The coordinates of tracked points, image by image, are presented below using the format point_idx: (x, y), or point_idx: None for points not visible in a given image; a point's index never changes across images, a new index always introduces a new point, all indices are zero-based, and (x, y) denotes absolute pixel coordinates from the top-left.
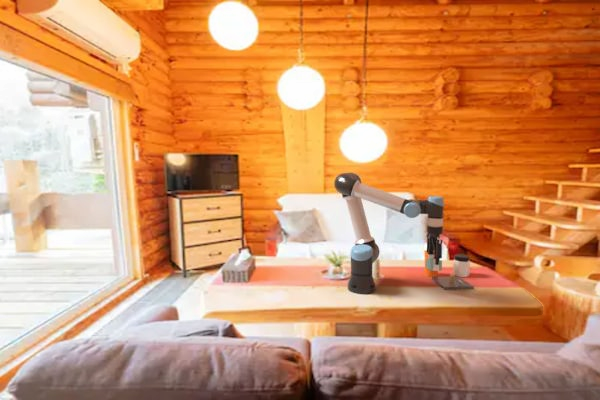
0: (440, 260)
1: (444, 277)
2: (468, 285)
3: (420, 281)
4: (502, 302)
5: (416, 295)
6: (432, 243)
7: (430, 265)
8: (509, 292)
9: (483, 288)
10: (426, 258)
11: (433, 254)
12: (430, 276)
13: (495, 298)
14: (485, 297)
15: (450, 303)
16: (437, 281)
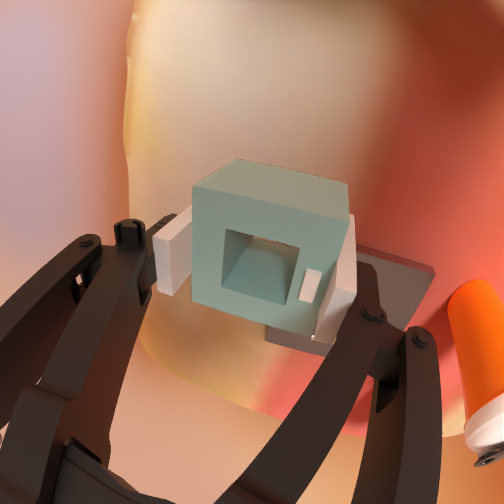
0: (220, 308)
1: (400, 321)
2: (278, 333)
3: (439, 194)
4: (156, 314)
5: (249, 42)
6: (46, 430)
7: (217, 171)
8: (223, 379)
9: (266, 358)
10: (340, 222)
11: (481, 391)
12: (460, 287)
13: (183, 323)
14: (191, 307)
15: (146, 153)
16: (373, 257)
